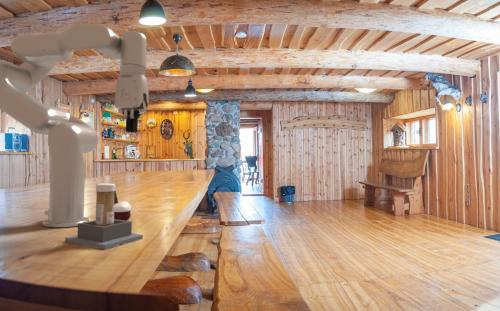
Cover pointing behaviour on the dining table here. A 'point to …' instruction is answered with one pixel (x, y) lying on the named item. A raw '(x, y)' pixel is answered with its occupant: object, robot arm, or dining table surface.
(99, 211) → the sprinkles bottle
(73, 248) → the dining table surface
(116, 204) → the cocoa
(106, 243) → the bottle stand
